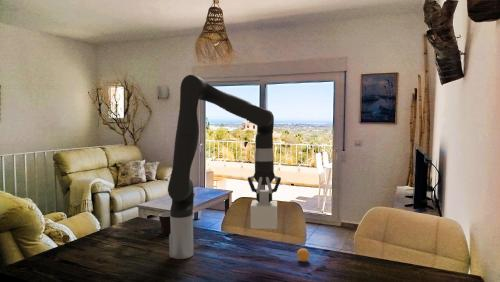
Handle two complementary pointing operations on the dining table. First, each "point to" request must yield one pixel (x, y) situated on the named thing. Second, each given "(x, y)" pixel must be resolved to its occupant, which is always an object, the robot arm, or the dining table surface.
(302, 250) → the ball
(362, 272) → the dining table surface
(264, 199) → the cream open-backed crate
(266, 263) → the dining table surface
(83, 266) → the dining table surface
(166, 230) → the coffee mug
